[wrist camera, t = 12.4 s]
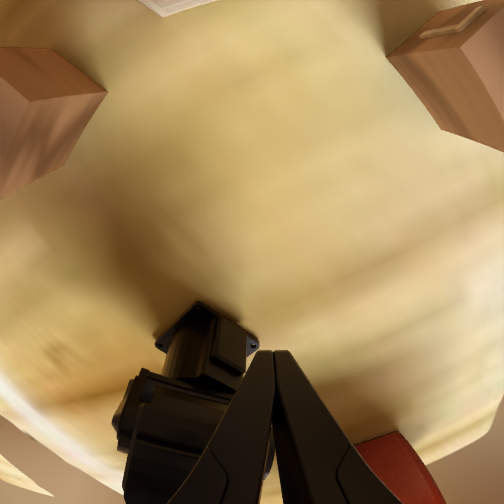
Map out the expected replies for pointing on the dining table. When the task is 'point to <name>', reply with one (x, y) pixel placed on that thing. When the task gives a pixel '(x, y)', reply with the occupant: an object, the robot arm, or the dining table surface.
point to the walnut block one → (40, 113)
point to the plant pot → (400, 469)
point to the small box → (172, 5)
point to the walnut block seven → (460, 70)
